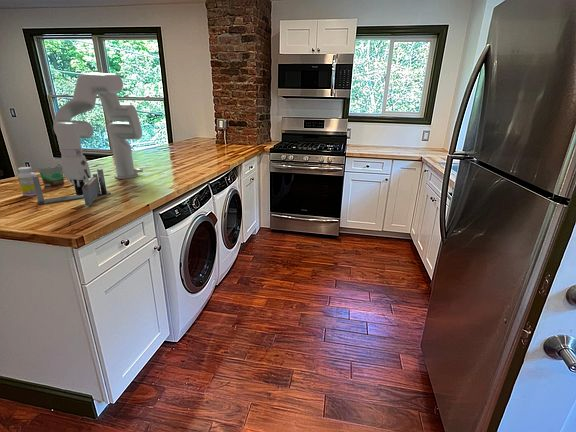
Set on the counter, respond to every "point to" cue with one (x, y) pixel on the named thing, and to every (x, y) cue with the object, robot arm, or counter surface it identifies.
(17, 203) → the counter surface
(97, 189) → the gate
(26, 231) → the counter surface
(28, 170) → the supplement bottle
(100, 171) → the gate frame
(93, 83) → the robot arm
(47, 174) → the food container
